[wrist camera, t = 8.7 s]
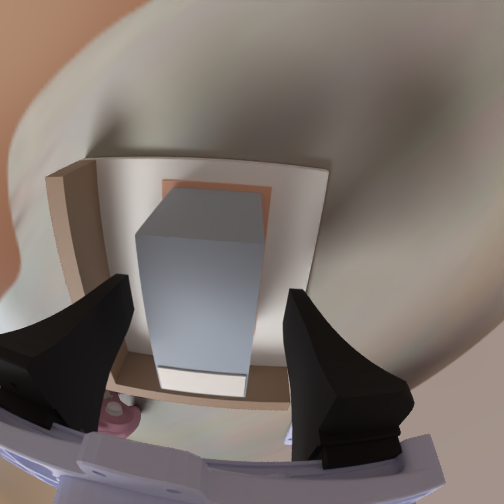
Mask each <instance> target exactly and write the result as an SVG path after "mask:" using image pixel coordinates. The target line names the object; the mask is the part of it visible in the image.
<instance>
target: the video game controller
mask: <svg viewBox="0 0 504 504" xmlns="http://www.w3.org/2000/svg"><path fill="white" fill-rule="evenodd" d="M140 420H141V413H140V410H139V408H138V407H136V406H127V405H126V404H124V403H123V402H122V401H120V399H119V396H118V394H117V392H115V391H110V390H106V389H105V393H104V398H103V402H102V407H101V413H100V419H99V425H98V432H99V433H105V434H109V435H112V436H116V437H120V438H124V439H125V438H127V437H128V436H129V435H130V434H132V433H133V432H134V431H135V430H136V428H137V427H138V425H139V423H140Z"/></svg>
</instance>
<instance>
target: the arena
mask: <svg viewBox="0 0 504 504" xmlns="http://www.w3.org/2000/svg"><path fill="white" fill-rule="evenodd" d="M328 175H329V171H328V170H327V169H320V168H313V167H305V166H296V165H287V164H278V163H268V162H257V161H244V160H231V159H214V158H192V157H98V158H84V159H81V160H79V161H77V162H75V163H73V164H71V165H69V166H67V167H65V168H62V169H60V170H58V171H56V172H55V173H53V174H51V175H49V176H47V177H45V180H46V188H47V196H48V202H49V209H50V215H51V220H52V226H53V231H54V236H55V240H56V245H57V249H58V254H59V258H60V262H61V266H62V270H63V274H64V277H65V281H66V284H67V288H68V291H69V295H70V298H71V301H72V304H73V303H75V302H76V301H78V300H79V299H81V298H82V297H84V296H85V295H87V294H88V293H89V292H91V291H92V290H94V289H95V288H96V287H98V286H99V285H100V284H102V283H103V282H105V281H106V280H107V279H109V278H110V277H112V276H113V275H115V274H116V273H118V274H127V275H129V281H130V287H131V293H132V299H133V304H134V309H135V310H134V313H133V317H132V320H131V323H130V327H129V329H128V332H127V334H126V336H125V338H124V341H123V343H122V345H121V347H120V349H119V352H118V354H117V356H116V359H115V361H114V363H113V366H112V368H111V371H110V374H109V378H108V382H107V385H106V390H110V391H115V392H119V393H124V394H129V395H133V396H139V397H144V398H149V399H155V400H161V401H168V402H175V403H182V404H190V405H198V406H208V407H218V408H231V409H248V410H288V408H289V405H290V394H289V383H288V373H287V363H286V357H285V351H284V344H283V324H282V323H283V318H284V313H285V308H286V303H287V298H288V293H289V288H294V289H303V290H304V291H305V292H306V287H307V283H308V278H309V274H310V269H311V265H312V260H313V255H314V250H315V245H316V240H317V235H318V230H319V225H320V220H321V215H322V209H323V204H324V198H325V193H326V187H327V181H328ZM173 187H180V188H200V189H216V190H231V191H244V192H256V193H261V200H262V213H263V226H264V239H265V248H264V256H263V264H262V272H261V280H260V289H259V297H258V304H257V312H256V320H255V328H254V336H253V344H252V351H251V359H250V366H249V374H248V381H247V389H246V396H245V397H232V396H219V395H209V394H199V393H190V392H182V391H175V390H168V389H161V386H160V382H159V378H158V374H157V370H156V365H155V361H154V356H153V351H152V347H151V342H150V337H149V331H148V326H147V321H146V315H145V309H144V303H143V297H142V290H141V283H140V276H139V268H138V260H137V252H136V243H135V234H136V232H137V231H138V230H139V228H140V227H141V226H142V225H143V223H144V222H145V221H146V219H147V218H148V217H149V216H150V214H151V213H152V212H153V211H154V210H155V208H156V207H157V206H158V205H159V203H160V202H161V201H162V200H163V199H164V197H165V196H166V195H167V194H168V193H169V191H170V190H171V189H172V188H173Z"/></svg>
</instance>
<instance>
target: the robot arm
mask: <svg viewBox="0 0 504 504" xmlns="http://www.w3.org/2000/svg"><path fill="white" fill-rule="evenodd" d="M134 310H135V309H134V304H133V299H132V293H131V287H130V281H129V275H127V274H118V273H116V274H115V275H113V276H112V277H110V278H109V279H107V280H106V281H105V282H103V283H102V284H100V285H99V286H98V287H96V288H95V289H94V290H92V291H91V292H89V293H88V294H87V295H85V296H84V297H82V298H81V299H79V300H78V301H76V302H75V303H73V304H72V305H70V306H69V307H67V308H65V309H64V310H62V311H60V312H58V313H56V314H55V315H53V316H51V317H48V318H46V319H44V320H42V321H40V322H37V323H35V324H33V325H30V326H27V327H25V328H22V329H19V330H15V331H12V332H8V333H4V334H0V456H1V457H2V458H4V459H6V460H7V461H9V462H10V463H12V464H14V465H15V466H17V467H19V468H21V469H22V470H24V471H26V472H28V473H29V474H31V475H33V476H35V477H37V478H38V479H40V480H42V481H44V482H46V483H48V484H50V485H52V486H54V487H56V488H57V490H56V494H55V497H54V501H53V504H416V502H415V501H417V500H419V499H421V498H423V497H425V496H426V495H428V494H430V493H432V492H433V491H435V490H437V489H438V488H440V487H442V486H443V485H445V479H444V476H443V472H442V469H441V465H440V462H439V460H438V456H437V453H436V450H435V447H434V444H433V441H432V438H431V435H430V434H425V435H422V436H417V437H413V438H409V439H406V440H404V441H402V442H399V439H398V436H399V435H400V434H401V431H400V428H399V425H400V424H401V423H402V421H403V420H404V419H405V418H406V417H407V416H408V415H409V413H410V412H411V411H412V409H413V407H414V400H413V397H412V394H411V392H410V389H409V387H408V385H407V383H406V381H404V380H402V379H400V378H398V377H396V376H394V375H392V374H390V373H388V372H387V371H385V370H383V369H382V368H380V367H378V366H377V365H375V364H374V363H372V362H371V361H369V360H368V359H367V358H365V357H364V356H363V355H361V354H360V353H359V352H357V351H356V350H355V349H354V348H353V347H351V346H350V345H349V344H348V343H347V342H346V341H345V340H344V339H343V338H342V337H341V336H340V335H339V334H338V333H337V332H336V331H335V330H334V329H333V328H332V327H331V325H330V324H329V323H328V322H327V321H326V319H325V318H324V317H323V316H322V314H321V313H320V312H319V310H318V309H317V308H316V306H315V305H314V304H313V302H312V301H311V299H310V298H309V297H308V295H307V294H306V292H305V291H304V290H303V289H294V288H289V293H288V298H287V303H286V308H285V313H284V318H283V323H282V324H283V344H284V351H285V357H286V363H287V369H288V375H289V381H290V388H291V406H292V423H291V425H290V428H289V430H288V432H287V434H286V437H285V439H284V444H286V445H292V462H247V461H228V460H215V459H205V458H201V457H200V456H197V455H195V454H192V453H190V452H187V451H183V450H179V449H174V448H169V447H163V446H157V445H152V444H147V443H142V442H137V441H133V440H129V439H124V438H120V437H116V436H112V435H109V434H105V433H99V432H98V425H99V419H100V413H101V407H102V402H103V398H104V393H105V389H106V385H107V382H108V378H109V374H110V371H111V368H112V366H113V363H114V361H115V359H116V356H117V354H118V352H119V349H120V347H121V345H122V343H123V341H124V338H125V336H126V334H127V332H128V329H129V327H130V323H131V320H132V317H133V313H134Z"/></svg>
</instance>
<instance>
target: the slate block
mask: <svg viewBox="0 0 504 504" xmlns="http://www.w3.org/2000/svg"><path fill="white" fill-rule="evenodd" d="M135 243H136V252H137V260H138V268H139V276H140V283H141V290H142V297H143V303H144V309H145V315H146V321H147V326H148V331H149V337H150V342H151V347H152V351H153V356H154V361H155V365H156V370H157V374H158V378H159V382H160V386H161V389H168V390H175V391H182V392H190V393H199V394H209V395H219V396H232V397H245V396H246V389H247V381H248V374H249V366H250V359H251V351H252V344H253V336H254V328H255V320H256V312H257V304H258V297H259V289H260V280H261V272H262V264H263V256H264V248H265V239H264V226H263V213H262V200H261V193H256V192H244V191H231V190H216V189H200V188H180V187H173V188H172V189H171V190H170V191H169V193H168V194H167V195H166V196H165V197H164V199H163V200H162V201H161V202H160V203H159V205H158V206H157V207H156V208H155V210H154V211H153V212H152V213H151V214H150V216H149V217H148V218H147V219H146V221H145V222H144V223H143V225H142V226H141V227H140V228H139V230H138V231H137V232H136V234H135Z"/></svg>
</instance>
